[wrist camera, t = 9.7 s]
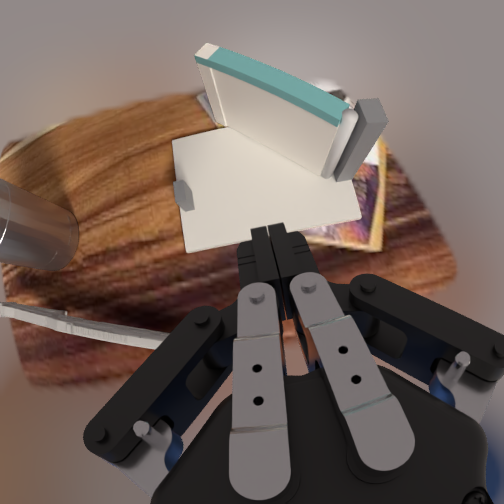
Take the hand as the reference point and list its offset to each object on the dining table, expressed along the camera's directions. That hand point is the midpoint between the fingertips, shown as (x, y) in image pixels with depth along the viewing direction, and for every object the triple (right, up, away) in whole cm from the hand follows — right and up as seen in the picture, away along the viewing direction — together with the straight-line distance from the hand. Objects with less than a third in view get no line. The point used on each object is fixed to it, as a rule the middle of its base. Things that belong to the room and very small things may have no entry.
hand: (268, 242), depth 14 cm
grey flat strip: (-18, -10, +23) cm, 31 cm away
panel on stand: (+1, +9, +24) cm, 25 cm away
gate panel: (+2, +13, +23) cm, 26 cm away
